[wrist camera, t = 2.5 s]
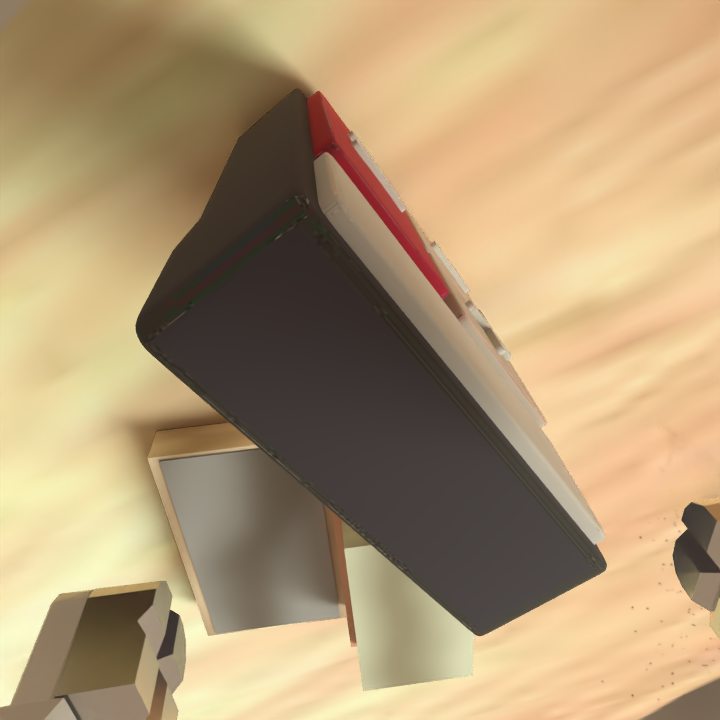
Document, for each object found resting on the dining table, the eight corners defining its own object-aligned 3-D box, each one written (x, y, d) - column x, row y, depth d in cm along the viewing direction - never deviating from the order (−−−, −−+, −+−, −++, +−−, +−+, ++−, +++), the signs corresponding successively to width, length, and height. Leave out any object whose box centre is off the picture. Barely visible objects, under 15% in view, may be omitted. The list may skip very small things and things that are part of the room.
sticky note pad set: (464, 394, 29) (509, 494, 23) (461, 572, 35) (495, 686, 29) (156, 431, 28) (118, 544, 22) (212, 605, 35) (195, 728, 29)
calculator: (472, 289, 26) (646, 561, 13) (393, 344, 27) (483, 646, 14) (313, 70, 21) (341, 157, 8) (225, 148, 22) (122, 336, 9)
